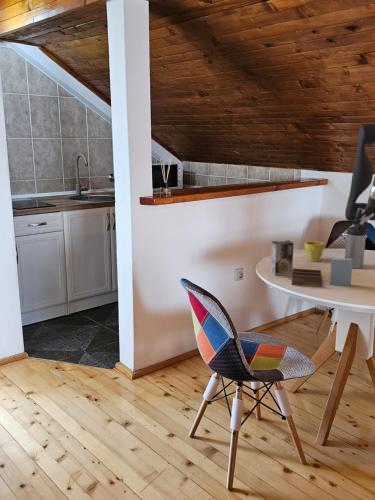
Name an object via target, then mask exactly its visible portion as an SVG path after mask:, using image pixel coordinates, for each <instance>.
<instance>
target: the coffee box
mask: <svg viewBox="0 0 375 500" xmlns="http://www.w3.org/2000/svg"><path fill="white" fill-rule="evenodd" d="M270 253H271V254H270V255H271V256H270V258H271V260H270V273H271V274H272V275H273V276H274V277H277V276H278V277H279V276H292V271H293V263H294V262H293V260H294V243H293V242H292V241H291V240H288V239H287V240H272V241H271V252H270Z"/></svg>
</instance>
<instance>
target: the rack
mask: <svg viewBox="0 0 375 500" xmlns="http://www.w3.org/2000/svg"><path fill="white" fill-rule="evenodd" d="M322 278H323V277H322V270H321V269H307V268H306V269H305V268H292V275H291V285H293V286H294V285H295V286H308V287H322V282H323V281H322Z"/></svg>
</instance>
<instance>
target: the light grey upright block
mask: <svg viewBox="0 0 375 500" xmlns="http://www.w3.org/2000/svg"><path fill="white" fill-rule="evenodd" d="M330 259H331V261H330V272H329V285H332V286H346V287H351V286H352V285H351V284H352V274H353V268H352V263H353V260H352V259H346V258H345V257H343V258H342V257H331V258H330Z"/></svg>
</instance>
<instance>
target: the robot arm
mask: <svg viewBox="0 0 375 500" xmlns="http://www.w3.org/2000/svg"><path fill="white" fill-rule="evenodd" d="M366 145H372V150H373V152H374V153H375V123H374V122H373V123H371V122H370V123H369V122H368V123H362V124H361V125H360V127H359V130H358V137H357V146H356V147H357V148H356V155H355V161H354V166H353V171H352V177H351V182H350V191H349V195H348V198H347V204H346V207H345V212H344V213H345V214H344V215H345V219H346V220H347V221H350V222H355V223H357V224H355V225H353V226H349V227H348V228H347V229H346V243H345V252H344V254H345V255H344V258H346V259H352V260H353V263H352V269H362V268H364V258H365V250H366V249H365V247H366V239H367V238H366V236H367V230H368V229H367V228H368V221H375V176H374V170H375V169H374V168H375V167H374V165H373V164H372V162H371V160H370V158H369V156H368V154H367V151H366ZM373 177H374V178H373ZM371 184H372V185H371ZM370 185H371V188H370V192H369V195H368V199H367V202H357V200H358V199H359V197H360V196H361V195H362V194H363V193H364V192H365V191H366V190H367V189H368V188H369V186H370Z"/></svg>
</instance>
